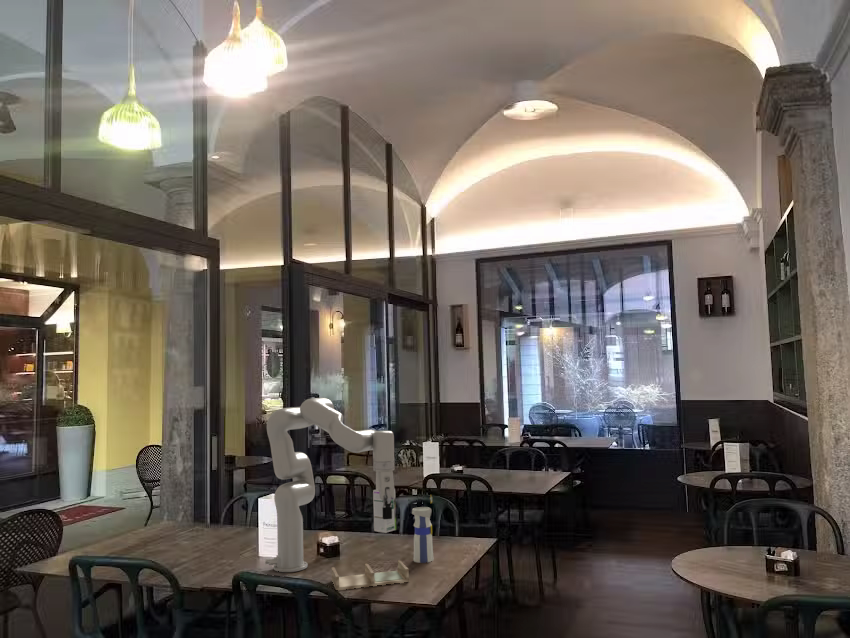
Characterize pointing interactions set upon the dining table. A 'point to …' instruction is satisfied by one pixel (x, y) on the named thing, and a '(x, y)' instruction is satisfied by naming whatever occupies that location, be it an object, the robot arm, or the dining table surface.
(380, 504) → the syrup box
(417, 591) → the dining table surface
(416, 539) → the water bottle
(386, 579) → the slot rack
